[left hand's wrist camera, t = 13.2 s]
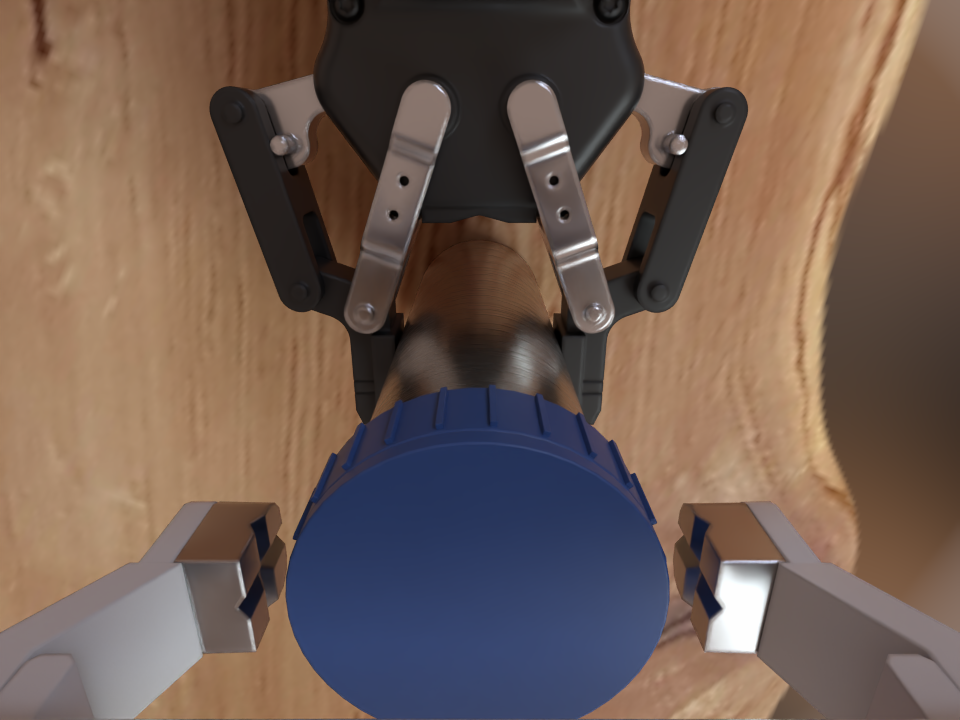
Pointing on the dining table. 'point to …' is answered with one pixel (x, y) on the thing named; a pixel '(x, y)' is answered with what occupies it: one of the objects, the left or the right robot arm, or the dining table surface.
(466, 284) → the jar
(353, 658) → the lid
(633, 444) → the dining table surface
